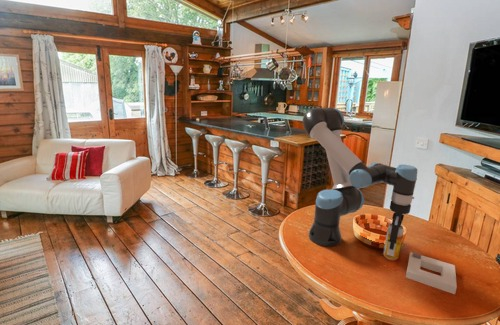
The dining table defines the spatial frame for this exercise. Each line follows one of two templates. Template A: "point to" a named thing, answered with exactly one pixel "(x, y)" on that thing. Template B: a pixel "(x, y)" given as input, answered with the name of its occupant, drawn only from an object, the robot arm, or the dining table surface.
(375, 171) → the robot arm
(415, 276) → the socket plate
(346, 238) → the dining table surface
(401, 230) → the beer can
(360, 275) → the dining table surface
